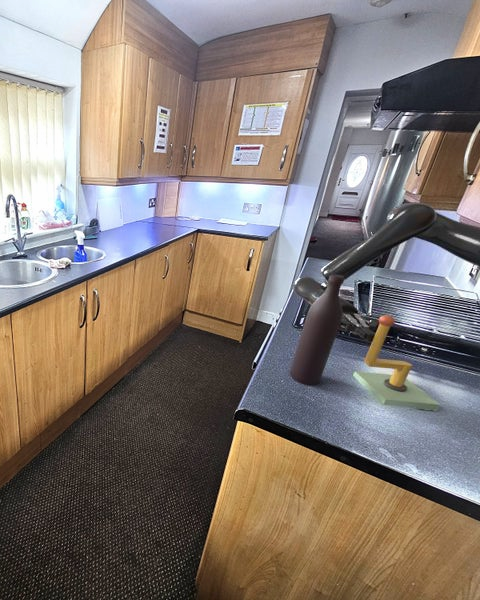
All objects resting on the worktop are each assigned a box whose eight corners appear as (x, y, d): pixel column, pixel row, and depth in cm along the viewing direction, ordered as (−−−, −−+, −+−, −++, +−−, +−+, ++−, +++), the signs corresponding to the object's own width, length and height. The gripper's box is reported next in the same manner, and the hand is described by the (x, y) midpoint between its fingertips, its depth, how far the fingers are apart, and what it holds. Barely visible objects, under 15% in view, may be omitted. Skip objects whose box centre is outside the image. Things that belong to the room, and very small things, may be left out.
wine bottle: (325, 385, 87) (364, 280, 75) (300, 387, 87) (335, 281, 75) (306, 369, 94) (339, 270, 82) (283, 371, 93) (312, 271, 81)
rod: (397, 381, 85) (427, 316, 78) (405, 387, 83) (437, 321, 75) (352, 376, 87) (378, 312, 79) (359, 383, 84) (386, 317, 77)
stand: (399, 381, 90) (403, 372, 89) (437, 411, 79) (442, 402, 78) (352, 377, 91) (355, 368, 90) (382, 405, 80) (386, 396, 79)
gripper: (314, 295, 97) (347, 321, 81) (364, 300, 95) (407, 327, 79) (307, 318, 100) (336, 347, 84) (355, 323, 97) (395, 354, 82)
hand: (371, 337), depth 81 cm, fingers closed
